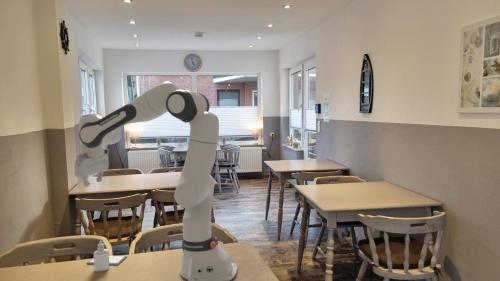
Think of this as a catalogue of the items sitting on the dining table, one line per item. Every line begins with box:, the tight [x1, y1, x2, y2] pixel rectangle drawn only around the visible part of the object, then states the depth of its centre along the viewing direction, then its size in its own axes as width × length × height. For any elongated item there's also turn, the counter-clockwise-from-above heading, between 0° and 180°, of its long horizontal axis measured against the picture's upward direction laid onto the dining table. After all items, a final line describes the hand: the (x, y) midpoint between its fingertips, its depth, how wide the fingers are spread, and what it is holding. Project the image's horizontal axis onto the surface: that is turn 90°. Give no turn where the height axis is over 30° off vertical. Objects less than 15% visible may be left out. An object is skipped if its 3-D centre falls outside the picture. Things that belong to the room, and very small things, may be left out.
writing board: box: [86, 255, 128, 266], centre depth 147 cm, size 14×8×1 cm, turn 84°
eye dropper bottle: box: [93, 240, 111, 273], centre depth 138 cm, size 4×6×12 cm
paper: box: [89, 255, 126, 263], centre depth 147 cm, size 12×7×1 cm, turn 84°
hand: (93, 183), depth 147 cm, fingers open, 8 cm apart
